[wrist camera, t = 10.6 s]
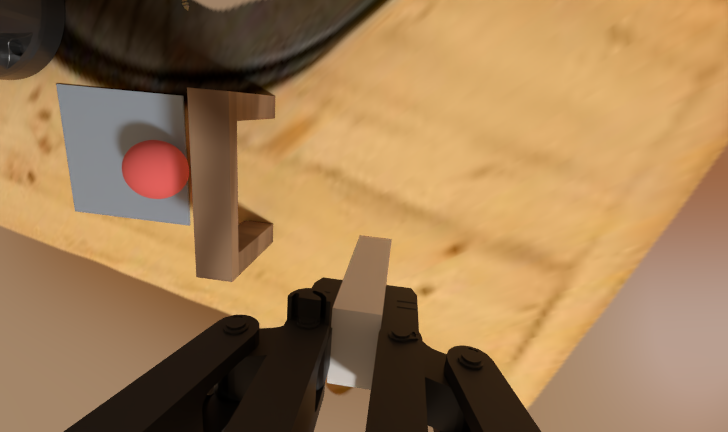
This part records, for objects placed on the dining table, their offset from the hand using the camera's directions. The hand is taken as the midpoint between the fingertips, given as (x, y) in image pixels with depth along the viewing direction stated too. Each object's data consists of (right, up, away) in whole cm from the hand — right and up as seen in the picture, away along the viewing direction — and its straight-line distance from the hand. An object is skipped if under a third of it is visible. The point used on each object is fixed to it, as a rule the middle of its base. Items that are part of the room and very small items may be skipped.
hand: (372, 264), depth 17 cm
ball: (-20, +7, +17) cm, 27 cm away
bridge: (-11, +7, +19) cm, 23 cm away
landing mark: (-25, +8, +20) cm, 33 cm away
